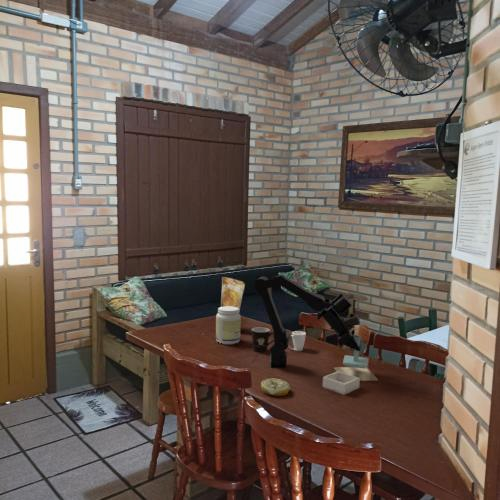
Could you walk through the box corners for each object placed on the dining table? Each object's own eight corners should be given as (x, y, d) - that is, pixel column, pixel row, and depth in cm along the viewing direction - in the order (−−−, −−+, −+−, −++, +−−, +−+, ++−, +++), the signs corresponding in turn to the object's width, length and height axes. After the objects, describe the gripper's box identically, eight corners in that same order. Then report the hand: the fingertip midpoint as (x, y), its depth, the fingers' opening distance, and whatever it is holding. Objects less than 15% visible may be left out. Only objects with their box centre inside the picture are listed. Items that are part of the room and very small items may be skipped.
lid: (342, 366, 196) (344, 338, 195) (344, 359, 206) (345, 332, 204) (367, 369, 193) (369, 341, 192) (368, 361, 203) (370, 334, 202)
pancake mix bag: (225, 324, 273) (226, 275, 270) (244, 332, 257) (246, 281, 254) (215, 326, 269) (216, 276, 266) (234, 334, 254) (235, 282, 251)
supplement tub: (244, 340, 243) (245, 308, 241) (230, 346, 233) (231, 312, 231) (224, 336, 250) (225, 304, 248) (210, 342, 239) (211, 308, 238)
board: (343, 380, 192) (343, 379, 192) (334, 368, 206) (334, 367, 206) (377, 380, 194) (377, 379, 194) (366, 368, 208) (366, 367, 207)
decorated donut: (272, 400, 173) (272, 389, 172) (255, 389, 182) (255, 380, 181) (294, 393, 179) (295, 384, 178) (277, 384, 188) (277, 374, 187)
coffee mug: (248, 351, 226) (248, 330, 225) (254, 346, 234) (255, 326, 233) (271, 355, 222) (272, 334, 221) (277, 350, 230) (278, 329, 229)
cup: (308, 350, 230) (309, 334, 229) (289, 352, 226) (290, 336, 225) (301, 346, 236) (301, 330, 236) (283, 348, 232) (283, 332, 232)
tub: (322, 387, 185) (322, 377, 185) (337, 380, 193) (338, 371, 192) (344, 395, 178) (345, 384, 178) (359, 388, 186) (359, 378, 185)
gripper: (347, 313, 189) (374, 343, 187) (350, 303, 207) (375, 331, 205) (326, 330, 192) (353, 361, 190) (330, 320, 210) (355, 347, 208)
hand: (360, 349), depth 198 cm, fingers closed on lid, 3 cm apart
